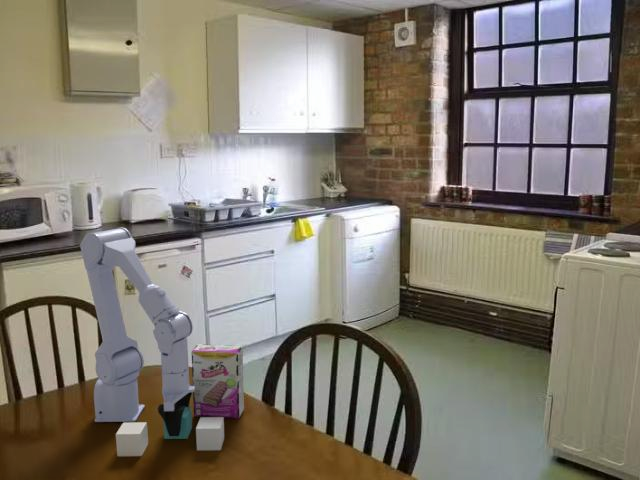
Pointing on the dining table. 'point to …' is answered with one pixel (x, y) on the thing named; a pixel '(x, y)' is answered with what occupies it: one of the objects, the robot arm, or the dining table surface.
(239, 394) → the candy bar box
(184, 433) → the teal block
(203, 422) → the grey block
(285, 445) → the dining table surface
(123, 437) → the offwhite block
